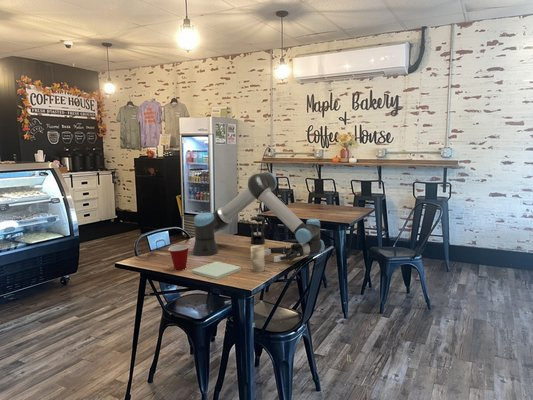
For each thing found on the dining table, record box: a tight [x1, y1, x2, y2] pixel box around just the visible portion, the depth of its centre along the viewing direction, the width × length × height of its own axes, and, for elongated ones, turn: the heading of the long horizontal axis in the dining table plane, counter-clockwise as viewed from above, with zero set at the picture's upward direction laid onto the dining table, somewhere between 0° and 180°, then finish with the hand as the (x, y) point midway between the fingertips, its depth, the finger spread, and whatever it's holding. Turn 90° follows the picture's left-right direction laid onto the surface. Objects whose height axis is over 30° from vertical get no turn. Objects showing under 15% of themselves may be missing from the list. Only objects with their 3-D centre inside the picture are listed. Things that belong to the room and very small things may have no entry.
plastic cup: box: [168, 244, 190, 271], centre depth 208 cm, size 11×11×12 cm
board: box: [190, 260, 242, 280], centre depth 204 cm, size 18×18×2 cm
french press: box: [250, 207, 266, 246], centre depth 259 cm, size 12×9×23 cm
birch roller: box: [250, 244, 266, 273], centre depth 204 cm, size 7×7×12 cm
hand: (267, 256), depth 207 cm, fingers open, 13 cm apart
